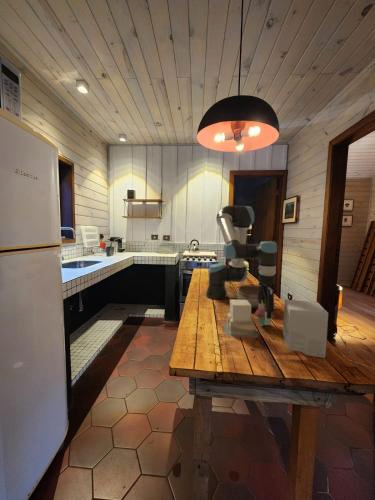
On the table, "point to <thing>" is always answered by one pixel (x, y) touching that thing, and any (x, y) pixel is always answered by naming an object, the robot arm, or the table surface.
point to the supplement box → (305, 327)
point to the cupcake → (262, 314)
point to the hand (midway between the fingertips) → (264, 320)
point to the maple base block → (240, 326)
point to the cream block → (240, 310)
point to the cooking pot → (248, 295)
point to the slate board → (237, 335)
